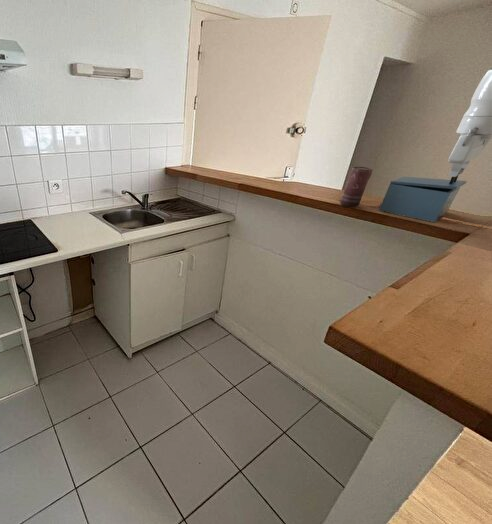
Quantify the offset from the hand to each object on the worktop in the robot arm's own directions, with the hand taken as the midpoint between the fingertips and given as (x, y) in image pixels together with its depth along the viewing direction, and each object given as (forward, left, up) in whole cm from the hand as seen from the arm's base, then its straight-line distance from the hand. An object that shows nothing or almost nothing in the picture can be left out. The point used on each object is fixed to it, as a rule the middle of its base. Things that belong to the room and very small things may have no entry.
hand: (455, 174), depth 90 cm
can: (+23, +8, -15) cm, 28 cm away
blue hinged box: (+6, 0, -14) cm, 16 cm away
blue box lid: (+6, 0, -4) cm, 7 cm away
